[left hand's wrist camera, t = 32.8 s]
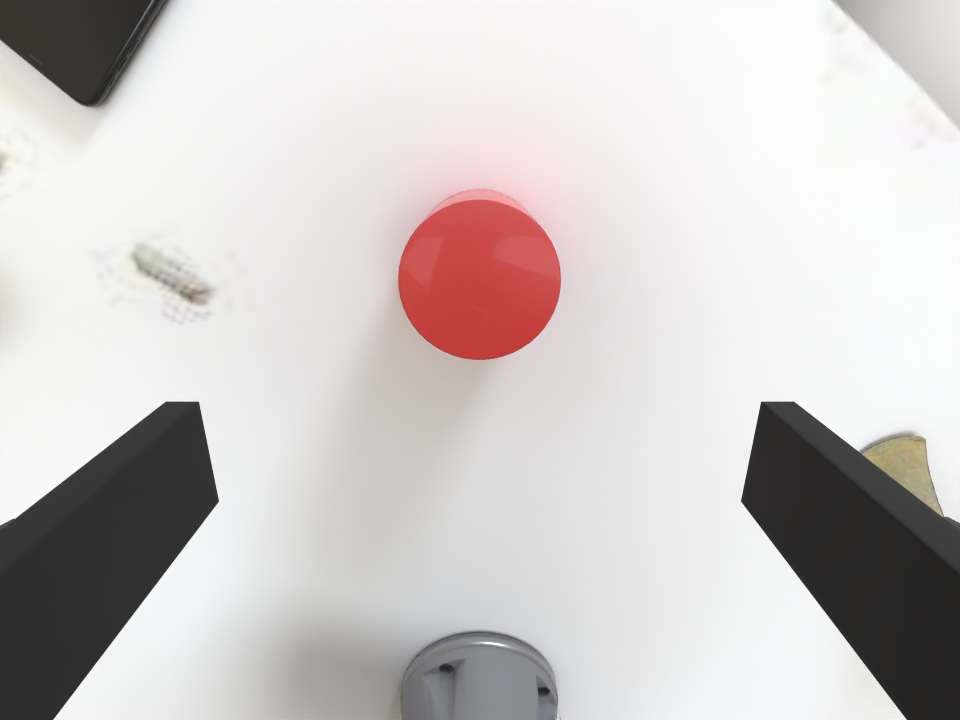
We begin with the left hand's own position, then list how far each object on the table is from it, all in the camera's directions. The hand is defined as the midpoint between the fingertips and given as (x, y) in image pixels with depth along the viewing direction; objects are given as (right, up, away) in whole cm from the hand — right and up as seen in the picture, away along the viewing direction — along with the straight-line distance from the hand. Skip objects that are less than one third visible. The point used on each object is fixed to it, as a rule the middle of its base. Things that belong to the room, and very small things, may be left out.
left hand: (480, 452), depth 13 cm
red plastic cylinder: (0, +10, +26) cm, 28 cm away
